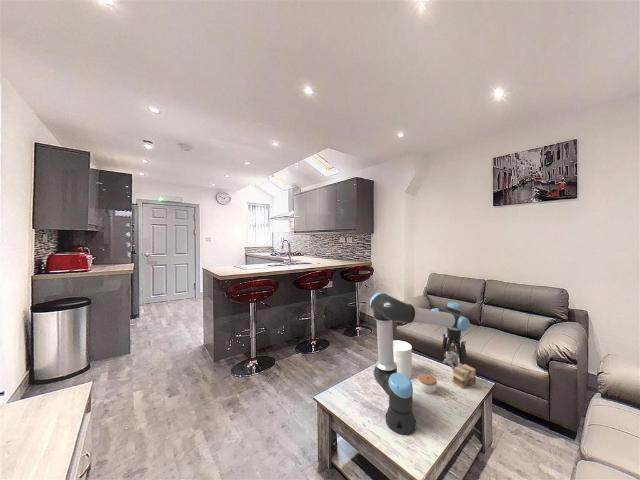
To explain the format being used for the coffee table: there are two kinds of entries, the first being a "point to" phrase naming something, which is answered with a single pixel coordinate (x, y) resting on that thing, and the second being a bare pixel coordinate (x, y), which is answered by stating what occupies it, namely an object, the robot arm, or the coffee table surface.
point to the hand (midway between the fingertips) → (453, 364)
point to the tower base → (464, 382)
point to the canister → (403, 357)
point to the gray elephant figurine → (451, 359)
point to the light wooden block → (464, 372)
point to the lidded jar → (427, 383)
